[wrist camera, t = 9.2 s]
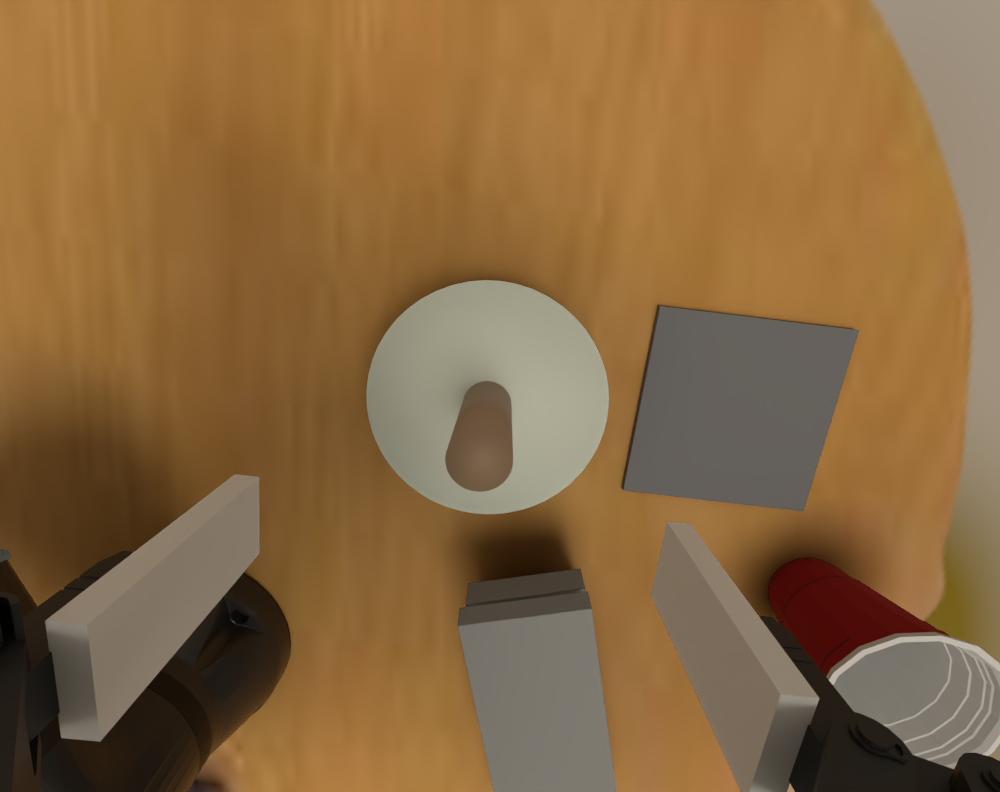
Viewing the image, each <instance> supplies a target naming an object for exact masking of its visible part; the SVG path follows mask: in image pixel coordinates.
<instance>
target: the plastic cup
mask: <svg viewBox="0 0 1000 792" xmlns="http://www.w3.org/2000/svg"><path fill="white" fill-rule="evenodd" d="M768 598H769V600H770V605H771V607H772V609H773V611H774V613H775V615H776V617H777V619H778V620H779V622H780V624H781V625H782V626H783V627H785V628H786V629H787V630H789V631H790V632H791V633H792V634H793V636H794V637H795V638H796V639H797V641H798V642H799V643H800V645H801V646H802V647H803V648H804V652H807V653H808V655H809V656H810V657H811V658H812V660H813V661H814V662H815V663H814V664H815V665H816V666H818V667H819V668H820V670H821V671H822V672H823V673H824V675H825V676H826V677H827V678H828V680H829V681H830V682H831V683H832V685H833V686H834V687H835V689H836V690H837V691H838V692H839V694H840V695H841V696H842V697H843V699H844V700H845V701H846V702H847V704H848V705H849V706H850V707H851V709H852V710H853V711H854V712H856V713H860V714H863V715H865V716H867V717H870V718H872V719H874V720H876V721H877V722H879V723H881V724H882V725H884V726H885V727H887V728H888V729H890V730H891V731H892V732H893V733H894V734H895V735H896V736H898V737H899V738H900V739H901V740H902V741H903V742H904V744H905V745H906V746H907V748H908V749H909V750H910V752H911V753H912V755H915V756H917V757H920V758H923V759H926V760H929V761H932V762H935V763H937V764H940V765H943V766H946V767H949V768H952V769H954V768H955V766H956V764H957V762H958V760H959V758H960V757H961V756H962V755H963V754H964V753H979V754H982V755H986V756H989V755H990V754H991V753H993V752H994V750H995V749H996V748H997V746H998V745H999V744H1000V663H998V662H997V661H995V659H993V658H992V657H991V656H990V655H988V654H987V653H986V652H985V651H983V650H982V649H981V648H980V647H978V646H976V645H975V644H973V643H971V642H967V641H964V640H961V639H957V638H954V637H951V636H949V635H948V634H946V633H945V632H943V631H940V630H937V629H936V628H935V627H933V626H931V625H930V624H928V623H927V622H925V621H921V620H920V619H918V618H917V617H915V616H914V615H912V614H910V613H909V612H907V611H906V610H904V609H903V608H901V607H899V606H898V605H896V604H895V603H893V602H892V601H890V600H888V599H887V598H885V597H884V596H882V595H881V594H879V593H877V592H876V591H874V590H873V589H871V588H870V587H868V586H866V585H865V584H863V583H862V582H860V581H859V580H855V579H853V578H851V577H850V576H848V575H847V574H845V573H844V572H842V571H841V570H839V569H837V568H836V567H834V566H833V565H831V564H828V563H826V562H824V561H821V560H817V559H813V558H806V559H797V560H795V561H792V562H790V563H788V564H786V565H784V566H783V567H782V568H781V569H779V570H778V571H777V572H776V573H775V574H774V576H773V578H772V580H771V582H770V584H769V586H768Z"/></svg>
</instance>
